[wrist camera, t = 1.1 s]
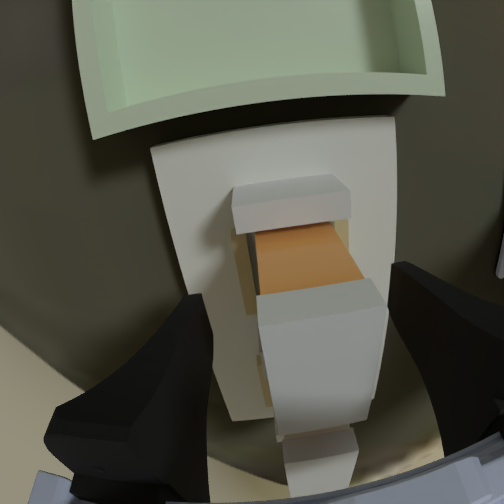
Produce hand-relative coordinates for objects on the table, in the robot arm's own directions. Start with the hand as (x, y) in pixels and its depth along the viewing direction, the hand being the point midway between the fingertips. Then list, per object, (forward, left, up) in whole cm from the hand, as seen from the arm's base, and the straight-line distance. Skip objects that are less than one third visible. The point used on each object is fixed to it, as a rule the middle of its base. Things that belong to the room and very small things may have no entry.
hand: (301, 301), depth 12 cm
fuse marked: (0, 0, -3) cm, 3 cm away
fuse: (0, +8, -3) cm, 8 cm away
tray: (0, -14, -4) cm, 14 cm away
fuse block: (0, +3, -4) cm, 5 cm away
